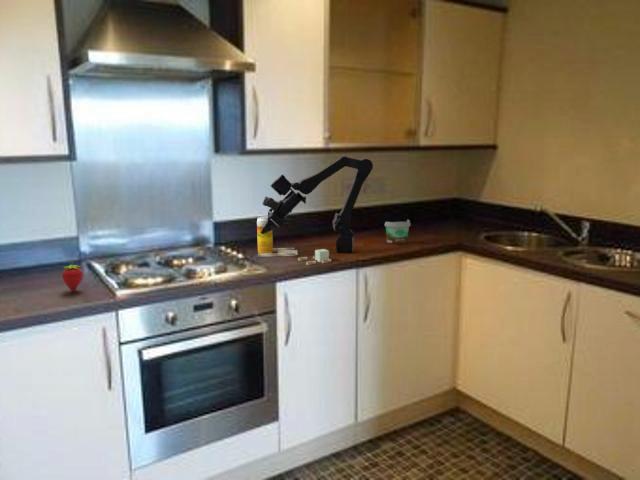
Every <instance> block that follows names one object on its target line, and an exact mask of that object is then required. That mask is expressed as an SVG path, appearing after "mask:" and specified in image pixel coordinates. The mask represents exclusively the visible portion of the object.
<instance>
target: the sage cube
mask: <svg viewBox="0 0 640 480" xmlns="http://www.w3.org/2000/svg"><path fill="white" fill-rule="evenodd" d="M314 256H315V259H314V261H316V260H317V261H316V262H319V263H322V260H325V259H330V250H328V249H326V248H321V249H315V250H314Z"/></svg>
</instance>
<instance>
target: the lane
mask: <svg viewBox="0 0 640 480" xmlns="http://www.w3.org/2000/svg"><path fill="white" fill-rule="evenodd" d="M283 250H295V247H273V252H272V253H271V254H259V253H257V257H258V258H261V257H262V258H263V257H264V258H267V257H295V256H296V255H295V253H278V251H283ZM274 252H277V253H274Z"/></svg>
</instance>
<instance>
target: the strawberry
mask: <svg viewBox="0 0 640 480" xmlns="http://www.w3.org/2000/svg"><path fill="white" fill-rule="evenodd" d="M82 266H83V265H76V264H73V262H71V263H70V264H69V265H67V266H64V267H62V268H63V269H64V270H63V271H62V273H61V274H62V275H61V276H62V280H63V282H64V283H65V285H66V286H67V287H68V288H69V290H70V291H71V292H72V293H74V292H75V291H77V289H78V287H79V285H80V284H81V282H82V280H83V275H84V274H83V273H84V272H83V270H82V269H81V267H82Z"/></svg>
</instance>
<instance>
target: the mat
mask: <svg viewBox="0 0 640 480" xmlns="http://www.w3.org/2000/svg"><path fill="white" fill-rule="evenodd" d="M277 253H295V256H298V255H299V253H298V250H297V249H296V250H295V249H294V250H283V251H277Z"/></svg>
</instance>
